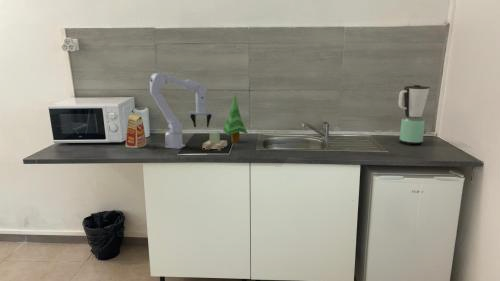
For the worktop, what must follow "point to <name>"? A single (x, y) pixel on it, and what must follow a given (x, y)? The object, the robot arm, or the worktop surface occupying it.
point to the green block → (214, 137)
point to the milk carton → (135, 132)
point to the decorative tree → (234, 123)
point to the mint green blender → (413, 114)
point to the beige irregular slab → (215, 145)
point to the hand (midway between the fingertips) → (201, 127)
